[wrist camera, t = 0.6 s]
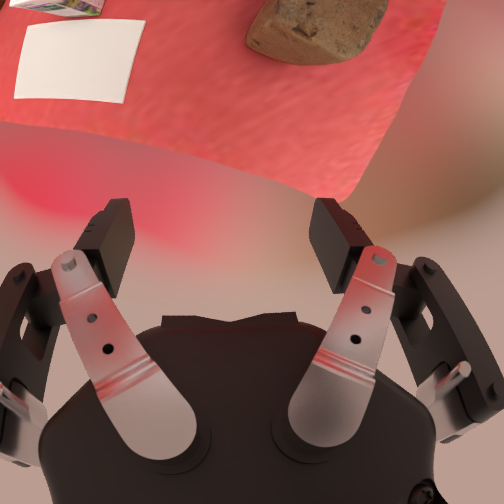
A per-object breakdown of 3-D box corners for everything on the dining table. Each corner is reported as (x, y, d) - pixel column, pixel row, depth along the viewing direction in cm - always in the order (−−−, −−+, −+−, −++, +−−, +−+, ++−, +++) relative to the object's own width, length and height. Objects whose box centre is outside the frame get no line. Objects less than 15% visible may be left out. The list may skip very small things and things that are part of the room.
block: (287, 70, 31) (358, 77, 15) (236, 46, 28) (259, 20, 12) (323, 12, 25) (413, -17, 9) (274, -14, 22) (330, -75, 7)
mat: (30, 26, 18) (28, 25, 18) (146, 21, 24) (145, 20, 23) (16, 97, 25) (13, 98, 24) (123, 102, 30) (122, 103, 30)
